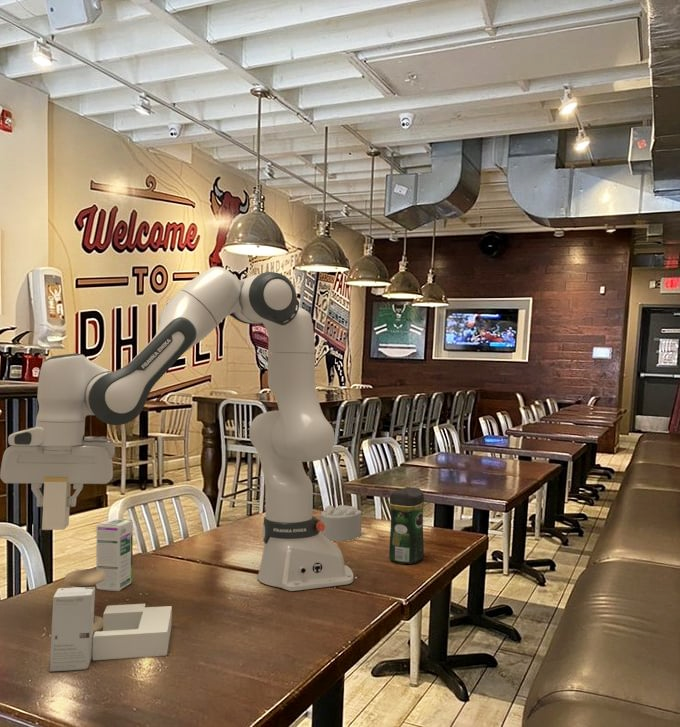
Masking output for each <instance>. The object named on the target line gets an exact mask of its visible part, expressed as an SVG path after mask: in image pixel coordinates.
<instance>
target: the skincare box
mask: <svg viewBox="0 0 680 727" xmlns="http://www.w3.org/2000/svg"><path fill="white" fill-rule="evenodd" d="M94 599H95V600H96V586H95V587H75V586H72V587H60V588H57V589H56V591H55V593H54V595H53V598H52V615H51V637H50V659H49V662H50V663H49V672H61V671H63V672H66V671H78V670H88V669H89V666H90V663H91V662H92V659H93V636H94V634H93V621H94Z"/></svg>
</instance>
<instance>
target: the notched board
mask: <svg viewBox="0 0 680 727" xmlns="http://www.w3.org/2000/svg"><path fill="white" fill-rule="evenodd" d="M172 607H173V606H171V605H170V606H168V605H167V606H166V605H165V606H150V607H149V606H147V607H146V603H132V604H130V603H129V604H114V605H113V604H111V605H106V607H105V609H104V612H103V614H102V615H103V616H102V618H103V629H102V630H100V631H98V632H95V633H94V634H93V644H92V661H103V660H104V661H105V660H117V659H118V660H121V659H132V658H133V659H134V658H148V657H163V656H164V657H165V656H167V655H168V650H169V645H170V644H169V643H170V638H171V632H172V631H171V630H172V620H173V619H172V617H173V616H172V613H173V610H172V609H173V608H172Z"/></svg>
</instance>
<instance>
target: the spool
mask: <svg viewBox="0 0 680 727" xmlns="http://www.w3.org/2000/svg"><path fill="white" fill-rule="evenodd" d="M104 579H105V572H104V571H102V570H99V569H96V568H84V569H77V570H73V571H71V572H69V573H67V574H66V575H64V584H65V585H66V586H69V587H95V588H96V584H98V583H100V582H102V581H104ZM95 607H96V598H95V599H94V621H93V635H94V633H95V632H98V631H103V616H102V617H101V616H99V615H95V611H96V610H95V609H96V608H95Z"/></svg>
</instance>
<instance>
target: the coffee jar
mask: <svg viewBox="0 0 680 727" xmlns="http://www.w3.org/2000/svg"><path fill="white" fill-rule="evenodd" d="M424 496H425V495H424V492H423V491H422V490H421V488H419V487H413V486H412V487H411V486H405V487H404V488H401V489H399V490H395V491H393V492H391V493H390V494H389V510H390V534H389V536H390V537H389V547H388V548H389V549H388V550H389V551H388V552H389V553H388V556H389V557H388V559H389V560H390V561H392V562H395V563H396V564H401V565H404V564H409V565H412V564H415V563H418V562H419V561H420V560H422V559H423V558H424V555H425V552H424V551H425V550H424V549H425V548H424V547H425V546H424V545H425V544H424V506H425V500H424V498H425V497H424Z"/></svg>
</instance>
